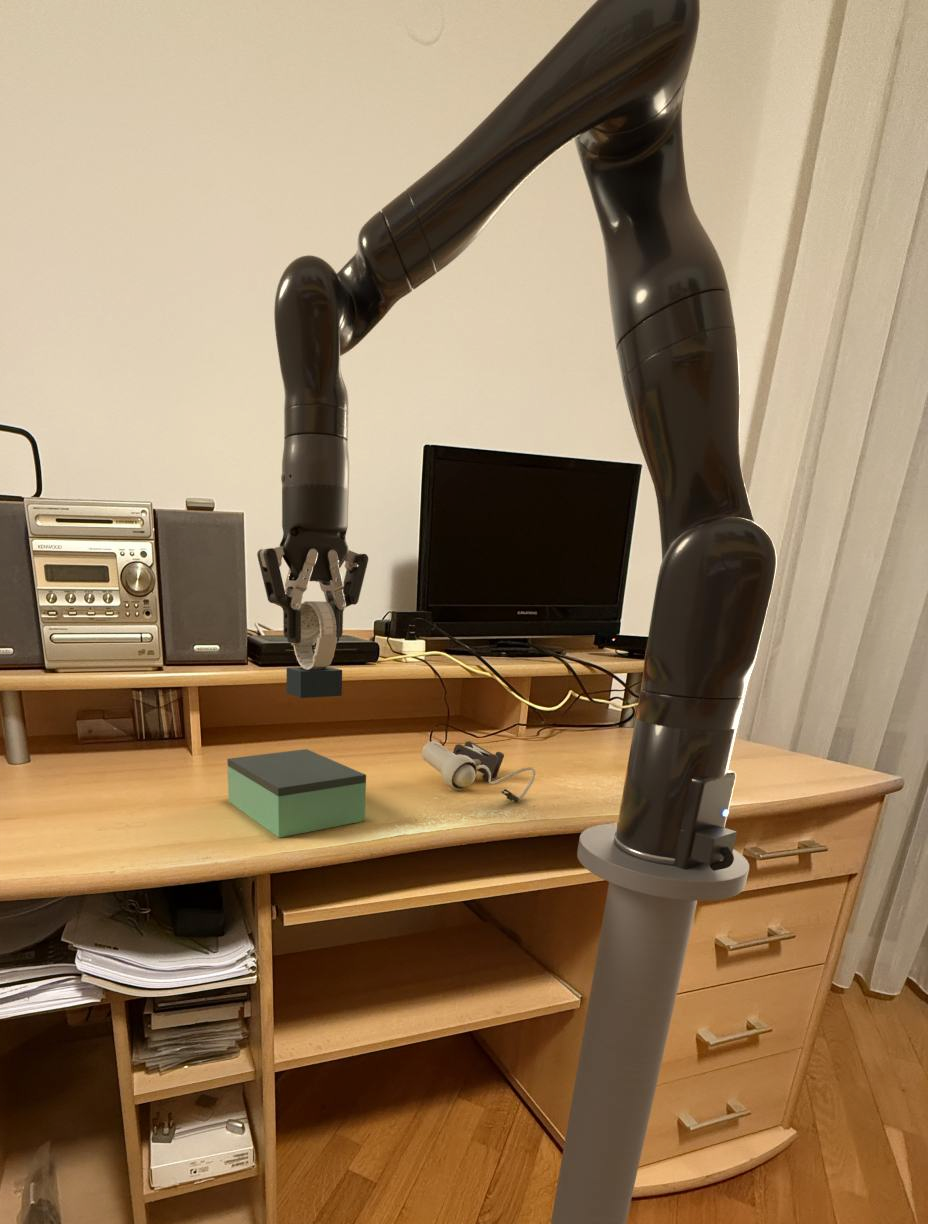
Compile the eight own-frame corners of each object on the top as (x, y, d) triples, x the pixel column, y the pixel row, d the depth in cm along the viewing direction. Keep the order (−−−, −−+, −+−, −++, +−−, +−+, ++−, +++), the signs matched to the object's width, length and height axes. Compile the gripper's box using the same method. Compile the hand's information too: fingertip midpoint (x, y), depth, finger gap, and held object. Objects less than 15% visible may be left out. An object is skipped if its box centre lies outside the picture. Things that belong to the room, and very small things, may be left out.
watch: (319, 688, 83) (320, 601, 80) (348, 697, 76) (351, 602, 73) (279, 690, 81) (279, 600, 77) (306, 700, 74) (306, 601, 70)
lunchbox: (364, 820, 79) (366, 774, 77) (278, 837, 73) (278, 788, 71) (306, 789, 91) (306, 748, 89) (228, 801, 85) (227, 758, 83)
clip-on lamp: (544, 817, 90) (465, 761, 104) (560, 777, 87) (478, 725, 101) (483, 822, 84) (408, 762, 98) (498, 780, 81) (419, 724, 95)
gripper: (272, 474, 64) (273, 646, 70) (386, 488, 71) (379, 643, 77) (243, 484, 71) (246, 641, 76) (351, 496, 78) (347, 639, 83)
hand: (313, 641), depth 76 cm, fingers closed on watch, 4 cm apart
